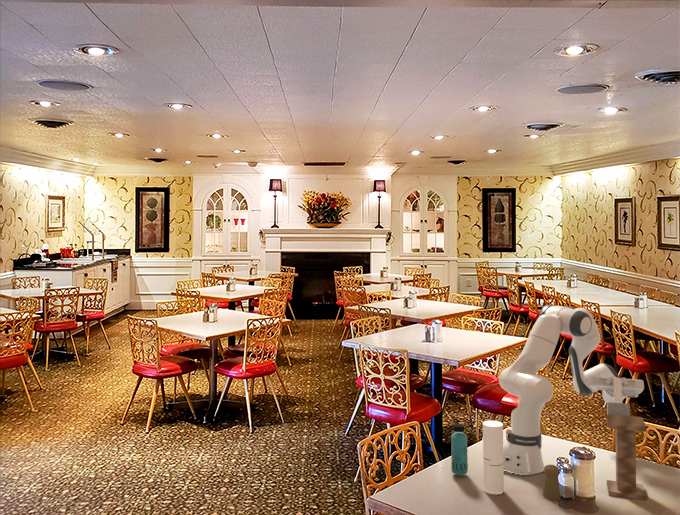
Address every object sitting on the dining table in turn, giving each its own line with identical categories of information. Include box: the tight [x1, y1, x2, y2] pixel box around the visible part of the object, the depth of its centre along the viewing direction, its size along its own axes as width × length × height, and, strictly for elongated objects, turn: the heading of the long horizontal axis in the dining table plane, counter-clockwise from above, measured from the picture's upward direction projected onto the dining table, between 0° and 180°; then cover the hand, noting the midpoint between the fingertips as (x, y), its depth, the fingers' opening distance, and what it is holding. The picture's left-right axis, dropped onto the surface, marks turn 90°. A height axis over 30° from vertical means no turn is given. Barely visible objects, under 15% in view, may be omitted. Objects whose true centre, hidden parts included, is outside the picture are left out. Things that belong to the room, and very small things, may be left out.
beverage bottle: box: [450, 423, 469, 476], centre depth 223 cm, size 6×7×20 cm
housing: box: [606, 377, 631, 416], centre depth 230 cm, size 8×18×3 cm
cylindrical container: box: [482, 420, 505, 492], centre depth 208 cm, size 7×7×25 cm
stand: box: [605, 413, 648, 501], centre depth 205 cm, size 12×12×26 cm
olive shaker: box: [542, 464, 562, 501], centre depth 203 cm, size 6×6×11 cm
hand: (617, 378), depth 231 cm, fingers closed on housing, 3 cm apart
